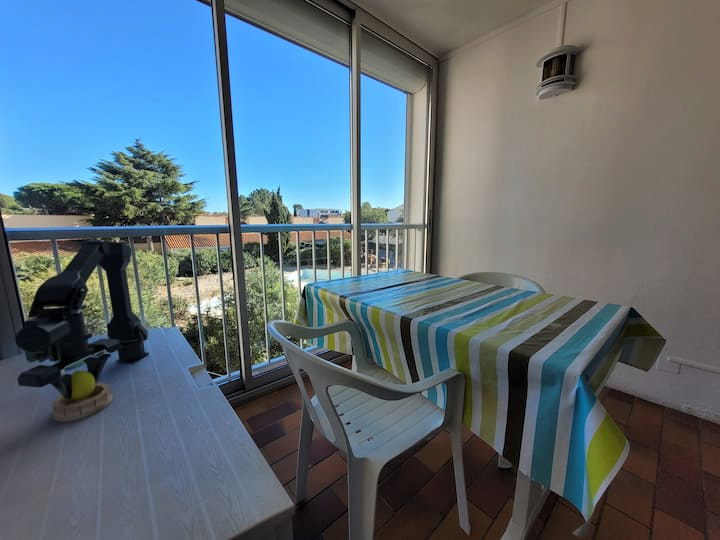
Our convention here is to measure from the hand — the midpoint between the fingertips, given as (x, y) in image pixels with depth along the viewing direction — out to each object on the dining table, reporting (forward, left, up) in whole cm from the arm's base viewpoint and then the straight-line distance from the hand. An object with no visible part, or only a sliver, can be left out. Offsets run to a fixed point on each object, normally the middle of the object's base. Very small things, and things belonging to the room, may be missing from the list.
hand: (81, 390), depth 72 cm
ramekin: (-19, -27, -5) cm, 33 cm away
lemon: (0, 0, -3) cm, 3 cm away
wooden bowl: (0, 0, -4) cm, 4 cm away
